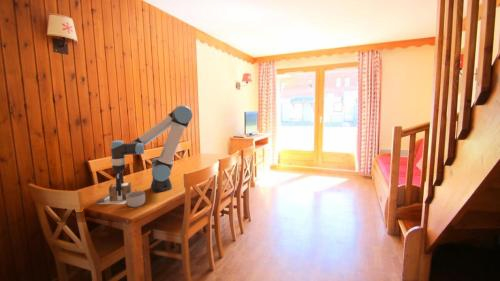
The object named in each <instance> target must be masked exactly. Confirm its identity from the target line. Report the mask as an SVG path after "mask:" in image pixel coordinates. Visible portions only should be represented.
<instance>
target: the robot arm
mask: <svg viewBox="0 0 500 281" xmlns="http://www.w3.org/2000/svg"><path fill="white" fill-rule="evenodd" d="M192 118H193V111H192V109H191V108H190V107H189V106H187V105H184V104H182V105H178V106H176V107H175V108H174V109H173V110H171V112H170V113H168V114H167V117H165V118H164V119H162V120H161V121H160V122H158V123H157V124H155V125H154V126H152V127H151V128H150V129H147V131H145V132H144V133H143V134H141V135H140V136H138V137H137V138H135V139H134V140H132V141H131V142H130V143H124V140H113V141H111V142H110V153H111V154H110V155H111V160H110V162H111V165H112V167H111V168H112V171H113V172H116V173H115V184H116V191H117V197H118V201H119V200H123V199H122V189H121V183H125V182H124V171H125V170H126V157H125V156H129V155H133V156H134V155H143V154H144V153H145V146H147V145H149V143H151V142H152V141H154V140H155V139H157V138H158V137H159V136H161V135H162V134H164V133H165V132H167V131H168V130H169V131H168V134H167V136H166V139H165V143H164V145H163V148H162V150H161V152H160V155H159V157H156V158H152V159H151V175H152V181H151V182H150V183H151V184H150V190H151V191H152V192H157V193H158V192H166V191H169V190H171V189H172V188H173V183H172V182H171V179H170V176H171V173H172V172H171V171H172V168H173V166H174V162H173V159H174V156H175V155H176V151H177V149H178V146H179V144H180V141H181V139H182V136H183V133H184V131H185V129H186V128H188V126H189V124H190V121H191V120H192Z"/></svg>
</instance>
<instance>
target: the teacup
mask: <svg viewBox="0 0 500 281" xmlns="http://www.w3.org/2000/svg"><path fill="white" fill-rule="evenodd" d="M126 200H127V202H126V204H127V206H128V207H131V208H138V207H139V208H140V207H141V206H143V205H144V204H145V203H146V192H145V191H143V190H134V191H131V192H130V193H128V194H127V195H126Z"/></svg>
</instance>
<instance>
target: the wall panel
mask: <svg viewBox="0 0 500 281" xmlns="http://www.w3.org/2000/svg"><path fill="white" fill-rule="evenodd" d="M94 203H95V205H125V204H127V200H119V201H110V197H109V193H107V194H105V195H104V196H103V197H100V198H99V199H97V200H96V201H95V202H94Z"/></svg>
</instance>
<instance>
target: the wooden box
mask: <svg viewBox="0 0 500 281" xmlns="http://www.w3.org/2000/svg"><path fill="white" fill-rule="evenodd" d="M121 189H122V199H123V200H126V195H127V194H128V193H130V192H132V182H124V183H121ZM108 194H109V197H110V201H118V197H117V191H116V183H111V184H110V185H109V187H108Z"/></svg>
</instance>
